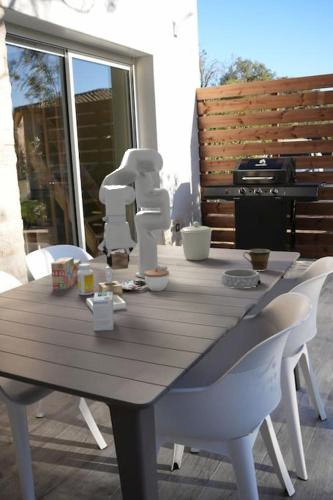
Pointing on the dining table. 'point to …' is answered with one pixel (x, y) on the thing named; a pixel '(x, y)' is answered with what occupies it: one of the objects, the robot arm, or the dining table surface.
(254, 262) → the ceramic cup
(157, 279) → the lidded jar
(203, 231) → the canister
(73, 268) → the stack of blocks
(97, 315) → the light bulb box
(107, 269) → the steel pin
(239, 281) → the dog bowl
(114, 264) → the walnut block
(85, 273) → the supplement bottle
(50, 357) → the dining table surface
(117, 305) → the tray
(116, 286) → the oak block
